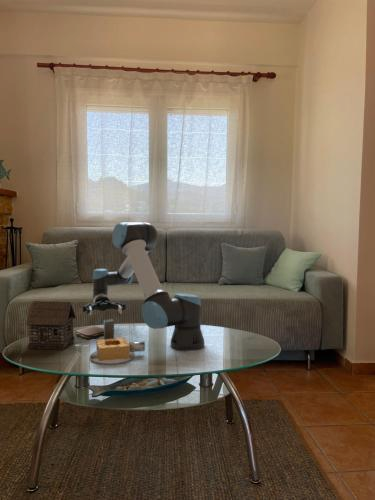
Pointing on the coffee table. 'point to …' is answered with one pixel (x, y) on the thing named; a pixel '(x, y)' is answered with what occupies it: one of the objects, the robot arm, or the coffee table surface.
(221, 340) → the coffee table surface
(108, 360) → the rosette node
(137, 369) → the coffee table surface
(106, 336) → the wedge pin
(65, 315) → the model building
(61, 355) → the coffee table surface
